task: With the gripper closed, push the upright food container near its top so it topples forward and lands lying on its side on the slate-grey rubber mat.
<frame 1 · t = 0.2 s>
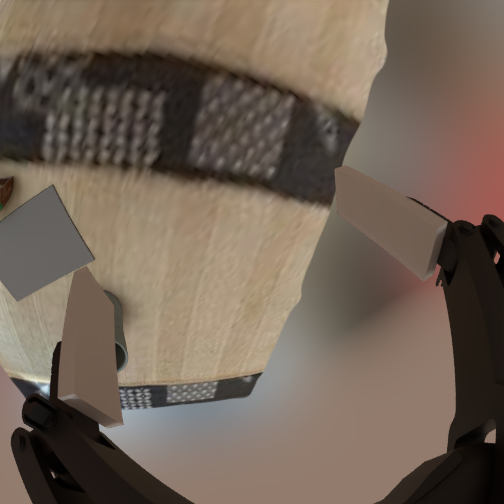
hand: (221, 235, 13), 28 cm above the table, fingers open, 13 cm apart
grey green cup: (99, 305, 43), on the table
mat: (29, 250, 33), on the table
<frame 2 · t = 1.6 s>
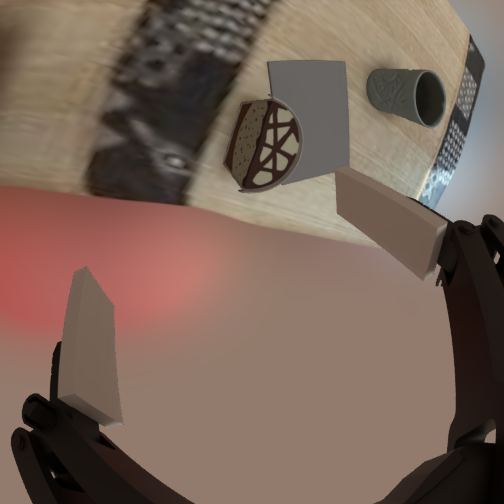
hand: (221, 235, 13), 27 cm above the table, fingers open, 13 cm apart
grey green cup: (380, 89, 40), on the table
food container: (250, 137, 37), on the table
mat: (314, 119, 39), on the table
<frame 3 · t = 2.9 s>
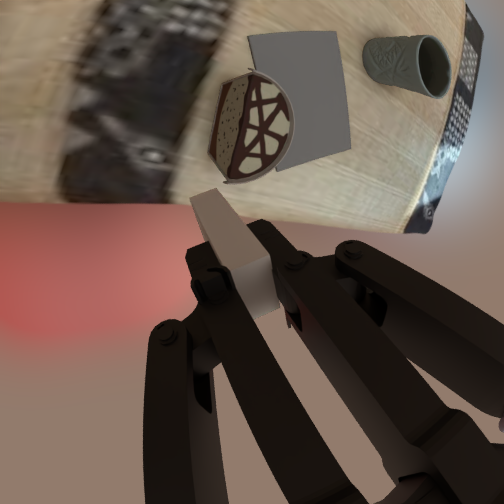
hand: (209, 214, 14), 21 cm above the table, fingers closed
grey green cup: (377, 60, 33), on the table
food container: (236, 121, 32), on the table
mat: (307, 95, 33), on the table
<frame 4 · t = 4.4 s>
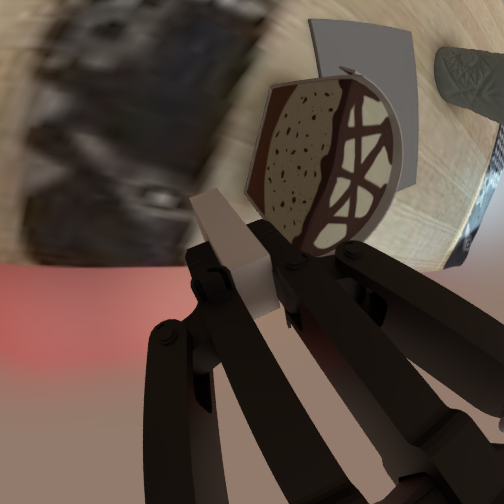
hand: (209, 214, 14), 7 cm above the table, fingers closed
grey green cup: (446, 74, 23), on the table
food container: (287, 146, 22), on the table
mat: (378, 114, 23), on the table
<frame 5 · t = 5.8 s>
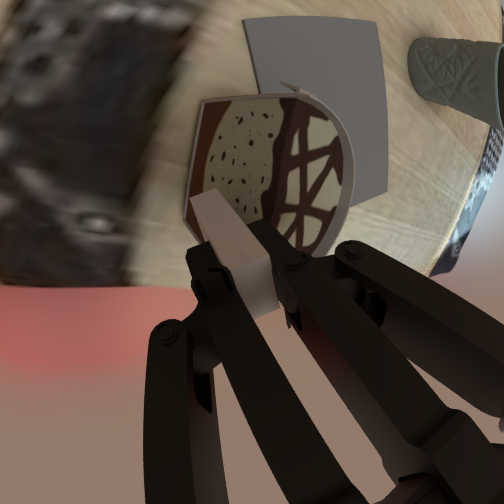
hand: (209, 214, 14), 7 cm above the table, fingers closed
grey green cup: (424, 68, 22), on the table
food container: (225, 163, 21), on the table, touching gripper
mat: (334, 117, 22), on the table
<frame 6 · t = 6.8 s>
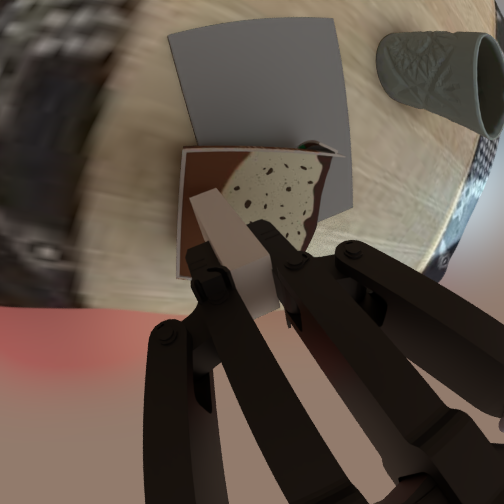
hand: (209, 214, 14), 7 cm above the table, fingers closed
grey green cup: (398, 67, 21), on the table
food container: (177, 201, 19), point 2 cm above the table, touching mat
mat: (281, 131, 21), on the table
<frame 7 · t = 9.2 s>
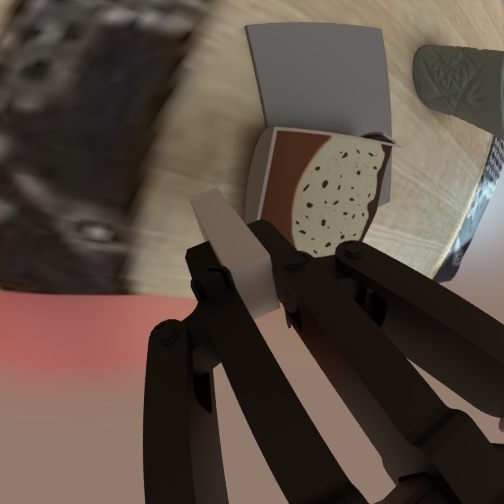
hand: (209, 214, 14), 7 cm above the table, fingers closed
grey green cup: (429, 76, 22), on the table
food container: (249, 182, 20), point 2 cm above the table, touching mat
mat: (338, 127, 22), on the table
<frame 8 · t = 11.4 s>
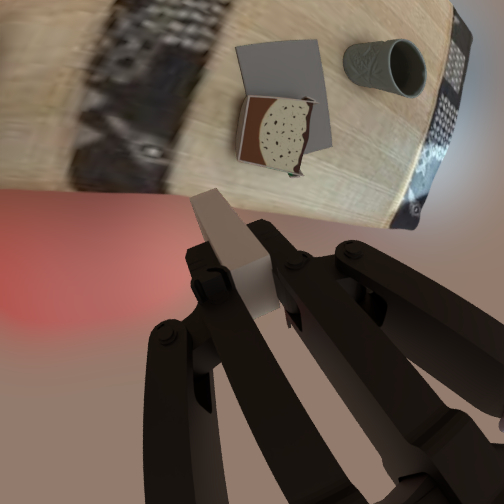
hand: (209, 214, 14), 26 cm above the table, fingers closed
grey green cup: (358, 64, 38), on the table
food container: (238, 126, 36), point 2 cm above the table, touching mat
mat: (289, 99, 38), on the table
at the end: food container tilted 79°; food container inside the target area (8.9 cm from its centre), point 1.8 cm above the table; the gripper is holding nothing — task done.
